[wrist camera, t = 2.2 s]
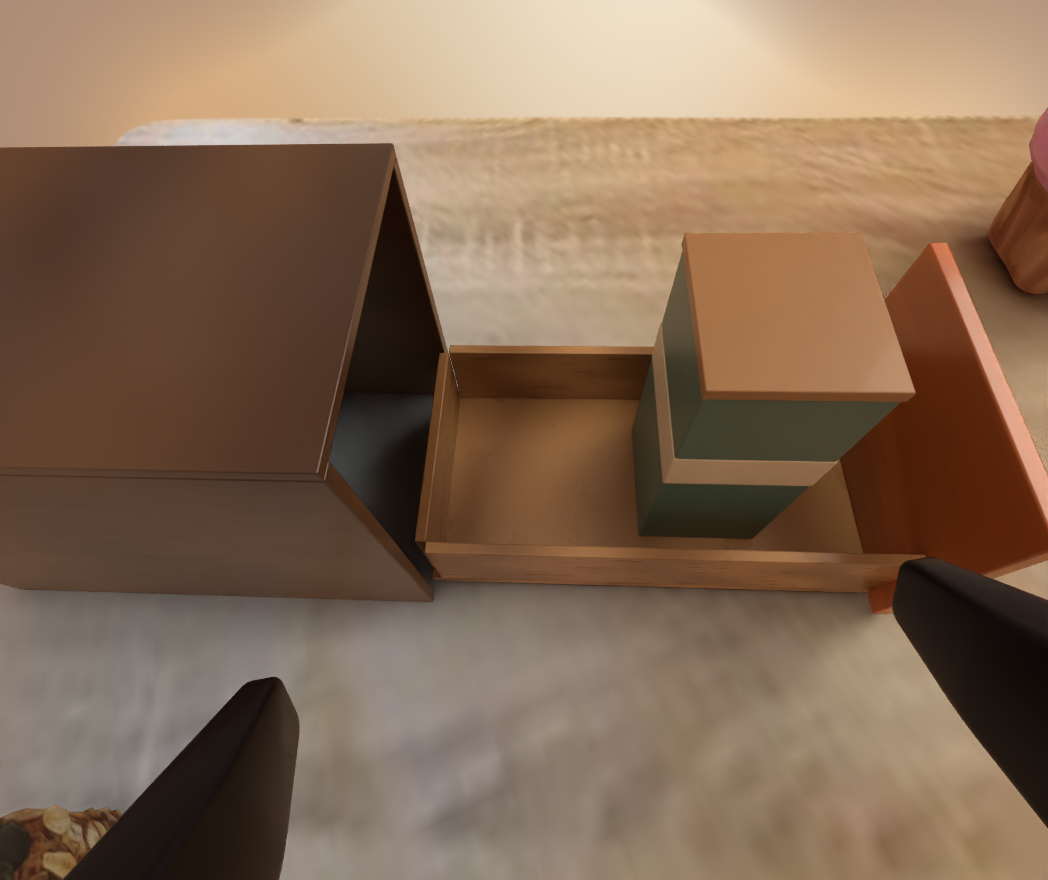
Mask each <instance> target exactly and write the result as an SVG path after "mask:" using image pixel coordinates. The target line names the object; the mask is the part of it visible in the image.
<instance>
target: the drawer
mask: <svg viewBox="0 0 1048 880" xmlns="http://www.w3.org/2000/svg"><path fill="white" fill-rule="evenodd" d="M884 301H885V304H886V307H887V310H888V313H889V316H890V318H891V321H892V324H893V327H894V330H895V333H896V336H897V339H898V342H899V345H900V348H901V351H902V354H903V357H904V360H905V363H906V366H907V368H908V371H909V374H910V377H911V380H912V383H913V386H914V389H915V395H914V396H912V397H911V398H910V399H909V400H908V401H906V402H900V403H899V404H898V405H897V406H896V407H895V408H894V409H893V410H892V411H890V412H889V413H888V414H887V415H886V416H885V417H884V418H883V419H882V420H881V421H880V422H879V423H877V424H876V425H875V426H874V427H873V428H872V429H871V430H870V431H869V432H868V433H867V434H866V435H864V436H863V437H862V438H861V439H860V440H859V441H858V442H857V443H856V444H855V445H854V446H853V447H852V448H850V449H849V450H848V451H847V452H846V453H845V454H844V455H843V456H842V457H841V458H840V459H839V460H838V461H837V464H836V465H834V466H833V467H832V468H831V469H830V470H829V471H828V472H827V473H826V474H825V475H824V476H822V477H821V478H820V479H819V480H818V481H817V482H816V483H815V484H814V485H812V486H809V487H808V488H807V489H806V490H805V491H804V492H803V493H802V494H801V495H800V496H799V497H797V498H796V499H795V500H794V501H793V502H792V503H791V504H790V505H789V506H788V507H787V508H786V509H784V510H783V511H782V512H781V513H780V514H779V515H778V516H777V517H776V518H775V519H774V520H773V521H771V522H770V523H769V524H768V525H767V526H766V527H765V528H764V529H763V530H762V531H761V532H760V533H759V534H757V535H756V536H755V537H754V538H753V539H748V538H707V537H666V536H639V534H638V521H637V504H636V487H635V471H634V454H633V437H632V427H633V424H634V420H635V417H636V413H637V410H638V406H639V403H640V399H641V396H642V392H643V389H644V385H645V382H646V378H647V375H648V371H649V367H650V364H651V360H652V353H653V349H654V347H605V346H474V345H450V350H449V354H450V357H449V354H448V353H440V354H439V360H438V368H437V375H436V383H435V391H434V398H433V406H432V413H431V421H430V428H429V436H428V444H427V451H426V459H425V466H424V474H423V481H422V489H421V497H420V504H419V512H418V519H417V527H416V534H415V542H416V544H417V545H418V546H419V548H420V549H421V551H422V552H423V554H424V555H425V556H426V558H427V559H428V561H429V562H430V563H431V565H432V566H433V572H432V578H433V579H434V580H444V581H478V582H513V583H547V584H582V585H616V586H651V587H685V588H720V589H754V590H789V591H823V592H857V593H866V592H867V593H868V597H869V601H870V605H871V609H872V613H874V614H889V613H892V612H893V610H892V599H893V594H894V590H895V585H896V581H897V576H898V572H899V568H900V566H901V565H902V564H903V562H905V561H907V560H913V559H918V558H924V557H936V558H939V559H942V560H945V561H947V562H950V563H952V564H955V565H958V566H960V567H963V568H965V569H968V570H971V571H973V572H976V573H978V574H981V575H984V576H986V577H989V578H991V579H993V578H996V577H999V576H1002V575H1005V574H1008V573H1011V572H1014V571H1017V570H1020V569H1023V568H1026V567H1029V566H1032V565H1035V564H1038V563H1041V562H1044V561H1046V560H1048V474H1047V472H1046V469H1045V467H1044V465H1043V462H1042V460H1041V458H1040V455H1039V453H1038V451H1037V449H1036V446H1035V444H1034V442H1033V439H1032V437H1031V435H1030V432H1029V430H1028V428H1027V426H1026V423H1025V421H1024V419H1023V416H1022V414H1021V412H1020V409H1019V407H1018V405H1017V403H1016V400H1015V398H1014V396H1013V393H1012V391H1011V389H1010V386H1009V384H1008V382H1007V380H1006V377H1005V375H1004V373H1003V370H1002V368H1001V366H1000V363H999V361H998V359H997V357H996V354H995V352H994V350H993V347H992V345H991V343H990V340H989V338H988V336H987V334H986V331H985V329H984V327H983V324H982V322H981V320H980V317H979V315H978V313H977V311H976V308H975V306H974V304H973V301H972V299H971V297H970V294H969V292H968V290H967V288H966V285H965V283H964V281H963V278H962V276H961V274H960V271H959V269H958V267H957V265H956V262H955V260H954V258H953V255H952V253H951V251H950V248H949V246H948V244H947V243H930V244H928V246H927V247H926V248H925V249H924V251H923V252H922V253H921V254H920V256H919V257H918V258H917V260H916V261H915V262H914V263H913V265H912V266H911V267H910V268H909V270H908V271H907V272H906V274H905V275H904V276H903V277H902V279H901V280H900V281H899V282H898V284H897V285H896V286H895V288H894V289H893V290H892V291H891V293H890V294H889V295H888V296H887V298H886V299H885V300H884ZM450 358H451V360H450ZM451 361H452V364H451ZM452 365H453V368H452ZM453 369H454V372H453ZM454 373H455V376H454ZM455 377H456V380H455ZM456 381H457V383H456ZM457 384H458V387H457ZM458 388H459V391H458Z"/></svg>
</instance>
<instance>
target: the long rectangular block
mask: <svg viewBox="0 0 1048 880" xmlns="http://www.w3.org/2000/svg"><path fill="white" fill-rule="evenodd" d="M682 249H683V251H682V255H681V258H680V262H679V265H678V269H677V272H676V276H675V279H674V283H673V286H672V290H671V293H670V297H669V300H668V304H667V307H666V311H665V315H664V318H663V322H662V323H661V325H660V328H659V331H658V335H657V339H656V342H655V346H654V349H653V353H652V360H651V364H650V367H649V371H648V375H647V378H646V382H645V385H644V389H643V392H642V396H641V399H640V403H639V406H638V410H637V413H636V417H635V420H634V424H633V427H632V437H633V454H634V471H635V487H636V504H637V521H638V534H639V536H666V537H707V538H748V539H753V538H754V537H755V536H756V535H757V534H759V533H760V532H761V531H762V530H763V529H764V528H765V527H766V526H767V525H768V524H769V523H770V522H771V521H773V520H774V519H775V518H776V517H777V516H778V515H779V514H780V513H781V512H782V511H783V510H784V509H786V508H787V507H788V506H789V505H790V504H791V503H792V502H793V501H794V500H795V499H796V498H797V497H799V496H800V495H801V494H802V493H803V492H804V491H805V490H806V489H807V488H808V487H809V486H812V485H814V484H815V483H816V482H817V481H818V480H819V479H820V478H821V477H822V476H824V475H825V474H826V473H827V472H828V471H829V470H830V469H831V468H832V467H833V466H834V465H836V464H837V461H838V460H839V459H840V458H841V457H842V456H843V455H844V454H845V453H846V452H847V451H848V450H849V449H850V448H852V447H853V446H854V445H855V444H856V443H857V442H858V441H859V440H860V439H861V438H862V437H863V436H864V435H866V434H867V433H868V432H869V431H870V430H871V429H872V428H873V427H874V426H875V425H876V424H877V423H879V422H880V421H881V420H882V419H883V418H884V417H885V416H886V415H887V414H888V413H889V412H890V411H892V410H893V409H894V408H895V407H896V406H897V405H898V404H899V403H900V402H906V401H908V400H909V399H910V398H911V397H912V396H914V395H915V389H914V386H913V383H912V380H911V377H910V374H909V371H908V368H907V366H906V363H905V360H904V357H903V354H902V351H901V348H900V345H899V342H898V339H897V336H896V333H895V330H894V327H893V324H892V321H891V318H890V316H889V313H888V310H887V307H886V304H885V301H884V298H883V295H882V292H881V289H880V286H879V283H878V280H877V277H876V274H875V271H874V269H873V266H872V263H871V260H870V257H869V254H868V251H867V248H866V245H865V242H864V239H863V236H862V234H861V233H686V234H685V235H684V238H683V241H682Z"/></svg>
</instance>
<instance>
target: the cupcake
mask: <svg viewBox="0 0 1048 880" xmlns="http://www.w3.org/2000/svg"><path fill="white" fill-rule="evenodd" d="M1029 148H1030V153H1031V160H1032V162H1031V163H1030V164H1029V166H1028V167H1027V169H1026V171H1025V172H1024V174H1023V175H1022V177H1021V178H1020V180H1019V181H1018V183H1017V184H1016V186H1015V188H1014V189H1013V191H1012V192H1011V194H1010V195H1009V196H1008V197H1007V198H1006V200H1005V202H1004V203H1003V205H1002V207H1001V209H1000V210H999V212H998V213H997V215H996V217H995V218H994V220H993V222H992V224H991V226H990V229H989V232H988V237H989V239H990V241H991V244H992V246H993V247H994V249H995V250H996V252H997V253H998V255H999V257H1000V258H1001V259H1002V261H1003V262H1004V264H1005V265H1006V267H1007V269H1008V271H1009V272H1010V275H1011V277H1012V280H1013V282H1014V283H1015V285H1016V286H1017V287H1018V288H1020V289H1021V290H1023V291H1025V292H1027V293H1030V294H1044V293H1048V108H1047V109H1046V111H1045V112H1044V113H1043V114H1042V116H1041V117H1040V119H1039V120H1038V122H1037V124H1036V127H1035V130H1034V134H1033V136H1032V138H1031V141H1030V143H1029Z"/></svg>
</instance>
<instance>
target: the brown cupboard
mask: <svg viewBox="0 0 1048 880" xmlns="http://www.w3.org/2000/svg"><path fill="white" fill-rule="evenodd" d="M440 353H448V351H447V347H446V343H445V340H444V336H443V332H442V328H441V324H440V321H439V317H438V313H437V309H436V305H435V302H434V298H433V294H432V290H431V286H430V283H429V279H428V275H427V271H426V267H425V264H424V260H423V256H422V252H421V248H420V245H419V241H418V237H417V233H416V229H415V226H414V222H413V218H412V214H411V210H410V207H409V203H408V199H407V195H406V191H405V188H404V184H403V180H402V176H401V173H400V169H399V165H398V161H397V158H396V153H395V149H394V145H393V144H392V143H381V144H288V145H195V146H106V147H105V146H102V147H16V148H15V147H12V148H11V147H9V148H0V584H3V585H6V586H10V587H14V588H18V589H33V590H65V591H97V592H129V593H162V594H194V595H226V596H259V597H291V598H323V599H355V600H388V601H420V602H432V601H433V595H434V590H433V588H432V587H431V586H430V585H429V583H428V582H427V581H426V580H425V578H424V577H423V576H422V575H421V574H420V572H419V571H418V570H417V569H416V567H415V566H414V565H413V564H412V563H411V561H410V560H409V559H408V558H407V556H406V555H405V554H404V553H403V551H402V550H401V549H400V548H399V547H398V545H397V544H396V543H395V542H394V540H393V539H392V538H391V537H390V535H389V534H388V533H387V532H386V531H385V529H384V528H383V527H382V526H381V524H380V523H379V522H378V521H377V520H376V518H375V517H374V516H373V515H372V513H371V512H370V511H369V510H368V508H367V507H366V506H365V505H364V504H363V502H362V501H361V500H360V499H359V497H358V496H357V495H356V494H355V492H354V491H353V490H352V489H351V488H350V486H349V485H348V484H347V483H346V481H345V480H344V479H343V478H342V476H341V475H340V474H339V473H338V472H337V470H336V469H335V468H334V467H333V465H332V464H331V463H330V462H329V461H328V460H329V456H330V451H331V447H332V442H333V438H334V433H335V429H336V424H337V420H338V415H339V411H340V406H341V401H342V397H343V392H366V393H434V391H435V383H436V375H437V368H438V360H439V354H440Z"/></svg>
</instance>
